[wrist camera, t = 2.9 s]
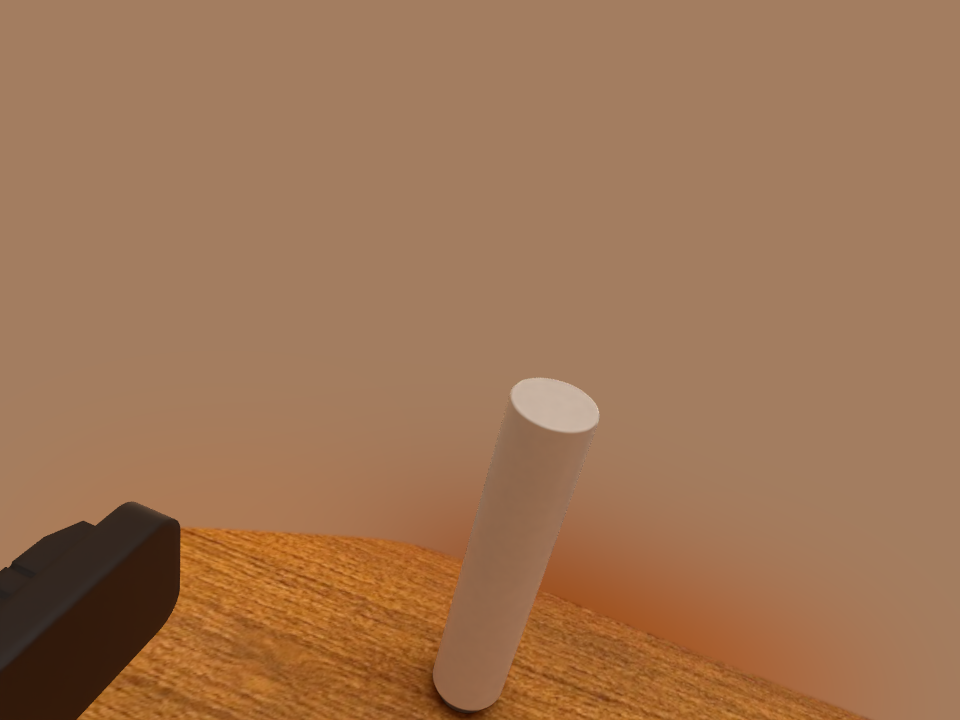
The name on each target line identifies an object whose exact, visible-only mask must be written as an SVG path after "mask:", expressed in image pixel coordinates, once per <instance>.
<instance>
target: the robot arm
mask: <svg viewBox="0 0 960 720" xmlns="http://www.w3.org/2000/svg"><path fill="white" fill-rule="evenodd" d="M179 591H180V525H179V523H178V521H177V520H175V519H173V518H171V517H168V516H166V515H164V514H161V513H159V512H157V511H155V510H152V509H150V508H148V507H145V506H143V505H141V504H138V503H136V502H127V503H125V504H123V505H121V506H119V507H118V508H117V509H115V510H114V511H113V512H112V513H111V514H109V515H108V516H107V517H106V518H104V519H103V520H102V521H101V522H100V523H98V524H97V525H96V526H94V525H92V524H89V523H87V522H85V521H81V522H79V523H77V524H74V525H72V526H70V527H67V528H65V529H62V530H60V531H57V532H55V533H53V534H50V535H48V536H46V537H43V538H42V539H41V540H40V541H39V542H37V543H36V544H34V545H33V546H32V547H31V548H29V549H28V550H27V551H25V552H24V553H23V554H22V555H20V556H19V557H18V558H16V559H15V560H14V561H13V562H12V564H11V566H10V567H9V568H7V567H5V568H4V569H2V570H1V571H0V720H76V719H77V718H78V717H79V716H80V715H81V714H82V713H83V712H84V711H85V710H86V709H87V708H88V706H89V705H90V704H91V703H92V702H93V701H94V700H95V699H96V698H97V697H98V696H99V695H100V694H101V693H102V691H103V690H104V689H105V688H106V687H107V686H108V685H109V684H110V683H111V682H112V681H113V680H114V679H115V677H116V676H117V675H118V674H119V673H120V672H121V671H122V670H123V669H124V668H125V667H126V666H127V665H128V664H129V662H130V661H131V660H132V659H133V658H134V657H135V656H136V655H137V654H138V653H139V652H140V651H141V650H142V648H143V647H144V646H145V645H146V644H147V643H148V642H149V641H150V640H151V639H152V638H153V637H154V636H155V635H156V633H157V632H158V631H159V630H160V629H161V628H162V627H163V625H164V624H165V623H166V621H167V620H168V618H169V616H170V615H171V613H172V611H173V609H174V607H175V604H176V602H177V599H178V596H179Z"/></svg>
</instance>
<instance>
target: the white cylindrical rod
mask: <svg viewBox="0 0 960 720" xmlns="http://www.w3.org/2000/svg"><path fill="white" fill-rule="evenodd" d="M599 417H600V416H599V410H598V407H597V405H596V404H595V402H594V401H593V400H592V399H591V398H590V397H589V396H588V395H587V394H586V393H584V392H583V391H581V390H580V389H578V388H576V387H574V386H572V385H570V384H568V383H565V382H562V381H558V380H554V379H549V378H529V379H525V380H522V381H520V382H518V383H517V384H516V385H515V386H514V387H513V388H512V390H511V392H510V395H509V399H508V402H507V406H506V410H505V413H504V417H503V420H502V424H501V428H500V431H499V435H498V438H497V442H496V446H495V449H494V453H493V457H492V460H491V464H490V467H489V471H488V474H487V478H486V482H485V485H484V489H483V493H482V496H481V499H480V503H479V507H478V510H477V514H476V518H475V521H474V525H473V529H472V532H471V535H470V539H469V543H468V546H467V550H466V553H465V557H464V561H463V564H462V568H461V571H460V575H459V578H458V582H457V586H456V589H455V593H454V596H453V600H452V604H451V607H450V611H449V614H448V618H447V622H446V625H445V629H444V632H443V636H442V640H441V643H440V647H439V650H438V654H437V658H436V661H435V665H434V668H433V680H434V684H435V686H436V689H437V691H438V692H439V694H440V696H441V698H442V699H443V701H444V702H445V703H446V704H447V705H448V706H449V707H450V708H452V709H454V710H456V711H458V712H462V713H474V712H477V711H479V710H481V709H484V708H486V707H488V706H490V705H492V704H493V703H494V702H495V701H496V700H497V699H498V698H499V696H500V694H501V692H502V689H503V686H504V684H505V681H506V678H507V675H508V673H509V670H510V667H511V664H512V661H513V659H514V656H515V653H516V650H517V647H518V645H519V642H520V639H521V636H522V633H523V631H524V628H525V625H526V622H527V620H528V617H529V614H530V611H531V608H532V606H533V603H534V600H535V597H536V594H537V592H538V589H539V586H540V583H541V580H542V578H543V575H544V572H545V569H546V566H547V564H548V561H549V558H550V555H551V553H552V550H553V547H554V544H555V541H556V539H557V536H558V533H559V530H560V527H561V525H562V522H563V519H564V516H565V514H566V511H567V508H568V505H569V502H570V500H571V497H572V494H573V491H574V488H575V486H576V483H577V480H578V477H579V475H580V472H581V469H582V466H583V463H584V460H585V457H586V455H587V452H588V449H589V447H590V444H591V441H592V438H593V436H594V433H595V430H596V427H597V424H598V421H599Z"/></svg>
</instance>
